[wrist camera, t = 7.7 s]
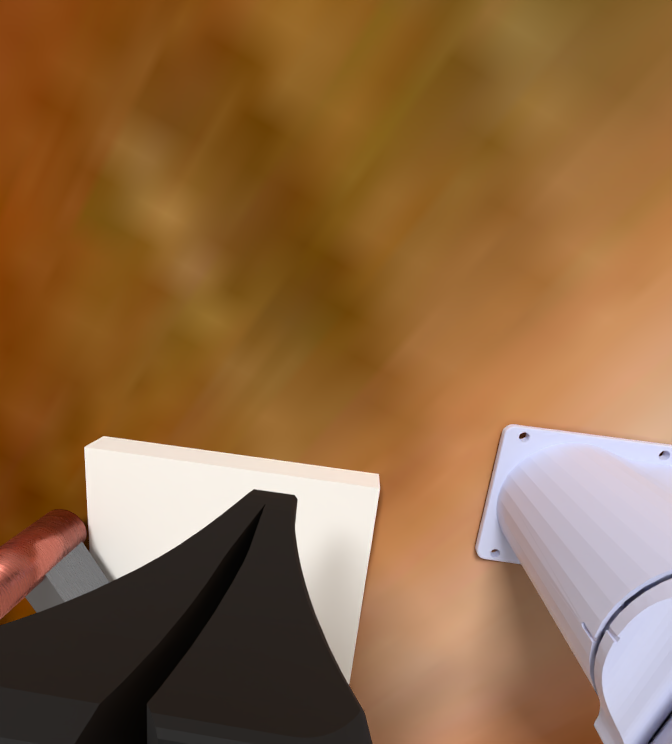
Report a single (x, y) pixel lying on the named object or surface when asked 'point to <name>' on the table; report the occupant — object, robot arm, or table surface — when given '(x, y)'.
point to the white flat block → (215, 496)
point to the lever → (48, 563)
